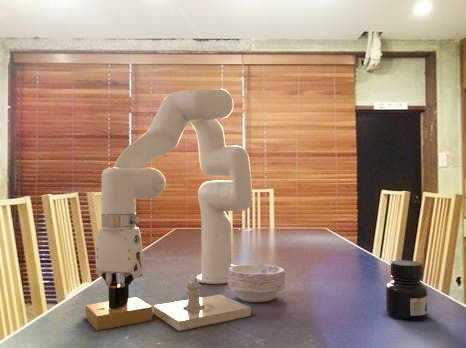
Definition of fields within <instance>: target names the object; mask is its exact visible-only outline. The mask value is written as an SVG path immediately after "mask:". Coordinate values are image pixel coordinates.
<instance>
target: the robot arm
mask: <svg viewBox="0 0 466 348" xmlns="http://www.w3.org/2000/svg"><path fill="white" fill-rule="evenodd" d="M233 109H234V99H233V97H232V95H231V93H230V92H229V91H228V90H226V89H224V88H195V89H188V90H177V91H173V92H170V93H168V94H167V95H166V96H165V97H164V98H163V100H162V101H161V104H160V106H159V108H158V110H157V112H156V114H155V116H154V118H153V120H152V122H151V124H150V125H149V127H148V129H147V130H146V132H144V133H143V134H142V135H140V136H139V137H138V138H137V139H135V140H134V141H133V142H132V143H130V144H129V145H128V146H127V147H126V148H124V150H123V151H122V152H121V153H120V154H119V156H118V157H117V159H116V161H115V163H114V164H113V166H112V167H106V168H104V169H103V170H102V172H101V177H100V179H101V181H100V183H101V185H100V187H101V191H100V192H101V197H100V198H101V202H100V204H101V209H100V210H101V211H100V213H101V215H100V216H101V219H100V221H101V223H100V225H101V226H100V227H99V229H98V233H97V237H96V238H97V239H96V246H95V271H94V273H95V275H97V276H99V277H100V278H102V279H103V281H104V282H105V285H106V286H107V287H108V289H109V288H110V287H111V286H116V285H119V284H120V287H118V305H122V304H124V303H127V302H128V298H130V290H129V289H130V287H129V286H130V285H132V282H133V281H134V280H135V279H137V278H140V277H143V276H144V273H143V270H142V269H143V268H144V248H143V240H142V234H141V229H140V227H139V226H138V227H137V226H136V225H137V224H139V223H140V222H141V218H140V217H139V216H137V199H138V200H140V199H141V200H146V199H147V200H150V199H151V200H152V199H155V198H158V197H159V196H161V195H162V194H163V192H164V191H165V189H166V185H167V183H166V177H165V175H164V174H163V173H162V172H161V170H158V169H156V168H154V167H144V166H145V165H146V164H147V163H149V162H151V161H152V160H154V159H156V158H159V157H161V156H164V155H165V154H168V153H170V152H171V151H173V150H174V149H176V148H177V146H178V144H179V142H180V140H181V138H182V135H183V133H184V132H185V129H186V126H187V124H188V123H189V124H190V125H191V126H192V128H193V129H194V131H195V133H196V139H197V148H198V160H199V166H200V171H201V173H202V174H203V175H204V176H206V177H213V178H214V177H215V178H219V177H222V178H223V177H225V178H226V177H230V178H231V180H225V179H224V180H210V181H205V182H203V183H202V184H201V185H200V187H199V188H198V192H197V199H198V206H199V211H200V223H201V224H200V226H201V227H200V228H201V229H200V231H201V233H200V235H201V236H200V237H201V240H200V241H201V243H200V245H201V251H200V252H201V253H200V255H201V257H200V258H201V262H200V263H201V265H200V267H201V273H200V274H198V275H197V276H196V281H199V283H201V284H207V285H221V284H228V269H229V268H230V267H232V266H237V265H235V264H233V263H232V222H231V219H230V218H229V216H228V215H227V211H228V212H244V211H246V210H248V209H249V208H250V207H251V205H252V201H253V185H252V173H251V163H250V157H249V153H248V152H247V150H246V149H245V148H244V147H243V146H240V145H226V139H225V131H224V127H223V126H222V124H221V123H220V122H219V119H226V118H228V117H229V116H230V115H231V114H232V112H233ZM118 274H119V276H118ZM118 277H119V279H118ZM118 280H119V281H118ZM118 282H119V283H118Z"/></svg>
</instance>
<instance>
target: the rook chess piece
mask: <svg viewBox="0 0 466 348" xmlns="http://www.w3.org/2000/svg"><path fill="white" fill-rule="evenodd" d="M201 286H202V285H201V284H200V282H199V281H197V280H189V281H187V284H186V288H187V295H188V297H187V300H188V303H187V305H186V308H185V310H186V311H200V310H203V308H202V307H201V305H200V301H199V298H200V288H201Z"/></svg>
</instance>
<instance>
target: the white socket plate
mask: <svg viewBox="0 0 466 348" xmlns="http://www.w3.org/2000/svg"><path fill="white" fill-rule="evenodd" d="M199 301H200V305H201V307H202V308H203V310H200V311H186V310H185V308H186V305H187V303H188V299H186V300H185V299H184V300H179V301H173V302H168V303H162V304H155V305H153V315H154V316H156V317H157V318H159V319H161V321H163V322H165V323H166V324H168V326H171V327H172V328H174V329H175V330H177V331H178V332H180V331H185V330H190V329H194V328H200V327H204V326H209V325H215V324H219V323H223V322H228V321H234V320H239V319H242V318H246V317H251V306H248V305H247V304H244V303H241V302H239V301H236V300H234V299H232V298H230V297H227V296H224V295H222V294H215V295H209V296H203V297H199Z"/></svg>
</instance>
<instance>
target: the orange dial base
mask: <svg viewBox="0 0 466 348" xmlns="http://www.w3.org/2000/svg"><path fill="white" fill-rule="evenodd" d="M85 319H86V320H87V322H89V324H91V326H93V328H95V330H96V331H102V330H106V329H113V328H117V327H122V326H123V327H124V326H127V325H133V324H138V323H144V322H149V321H152V320H153V307H152V306H151V305H150V304H149V303H147V302H145V301H144V300H142V299H140V298H138V297H137V296H136V297H129V298H128V303H127V304H124V305H122V306H120V307H118V308H116V309H111V308H109V301H104V302H96V303H90V304H86V305H85Z"/></svg>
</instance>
